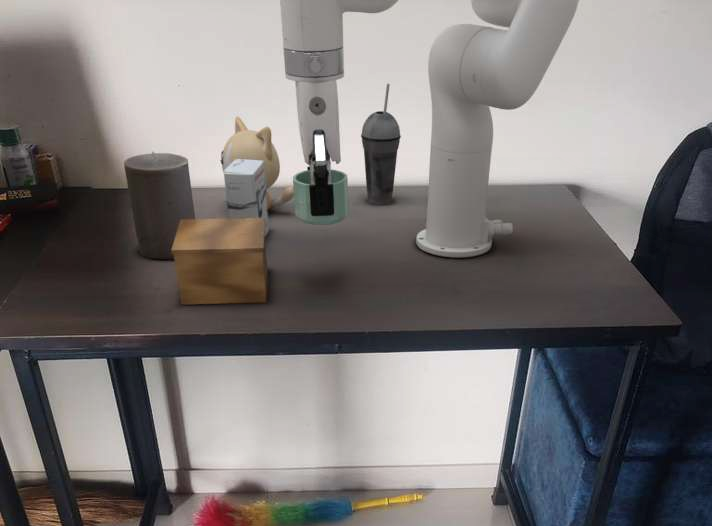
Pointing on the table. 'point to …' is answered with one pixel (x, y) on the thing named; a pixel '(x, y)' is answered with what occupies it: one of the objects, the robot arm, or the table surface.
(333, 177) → the teal green pot
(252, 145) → the kitten
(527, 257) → the table surface
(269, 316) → the table surface
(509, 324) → the table surface
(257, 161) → the ink box
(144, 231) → the pillar candle
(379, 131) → the beverage cup
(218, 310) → the table surface
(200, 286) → the wooden stand
